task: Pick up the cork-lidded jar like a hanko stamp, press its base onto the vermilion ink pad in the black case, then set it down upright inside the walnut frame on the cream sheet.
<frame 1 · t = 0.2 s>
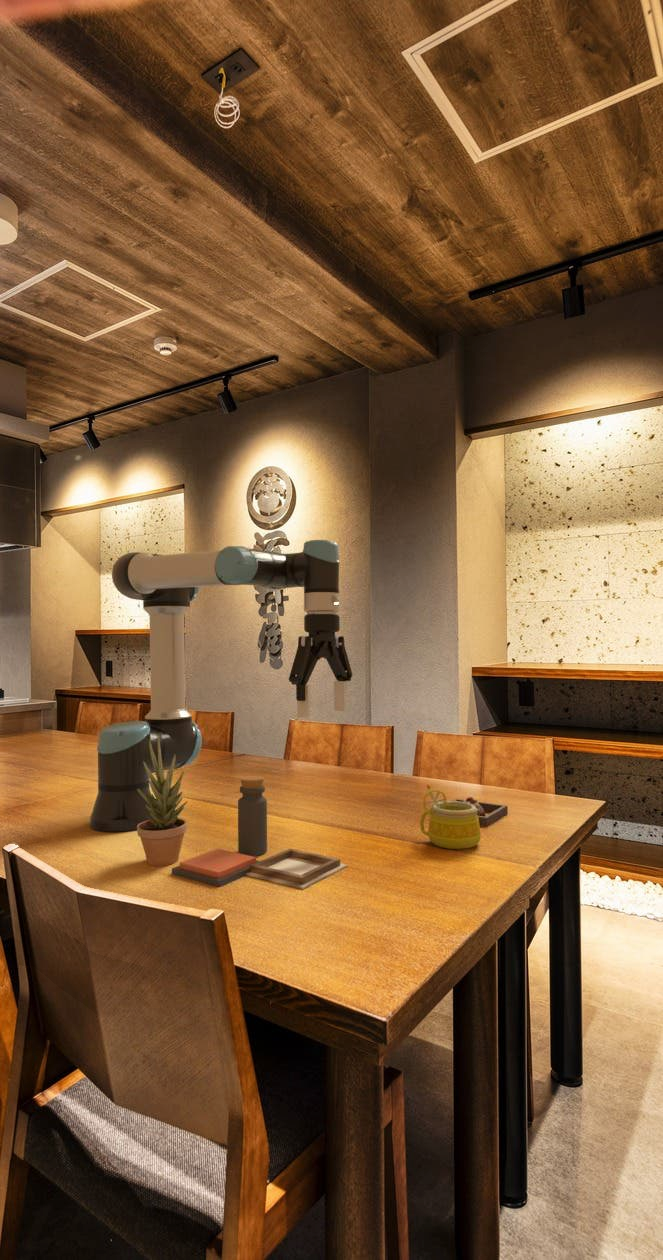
hand: (322, 714, 143), 27 cm above the table, fingers open, 13 cm apart
potted plant: (162, 862, 132), on the table
ink pad: (218, 870, 126), on the table
cork-lidded jar: (252, 853, 137), on the table
pastry: (469, 817, 164), resting in pastry tray
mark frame: (295, 870, 126), on the table
mug: (449, 844, 142), on the table
pastry tray: (470, 816, 164), on the table
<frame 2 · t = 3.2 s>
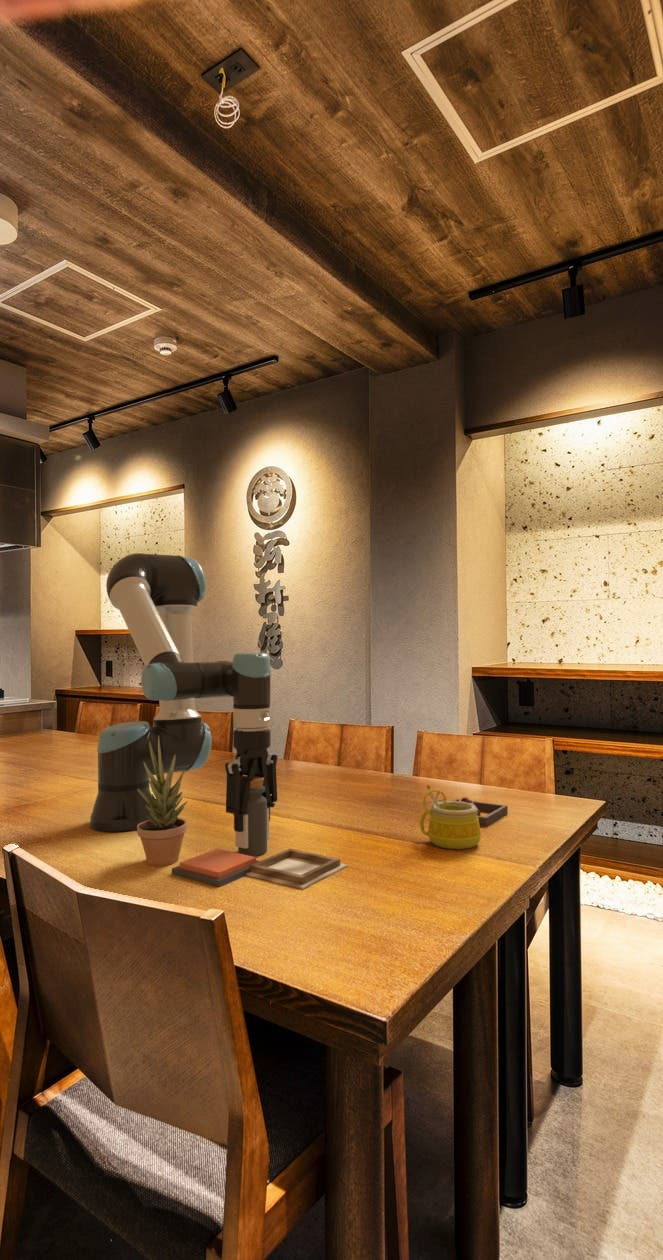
hand: (252, 842, 137), 2 cm above the table, fingers closed on cork-lidded jar, 6 cm apart
cork-lidded jar: (252, 852, 137), on the table, touching gripper
pastry: (464, 818, 164), resting in pastry tray
everything else where it was.
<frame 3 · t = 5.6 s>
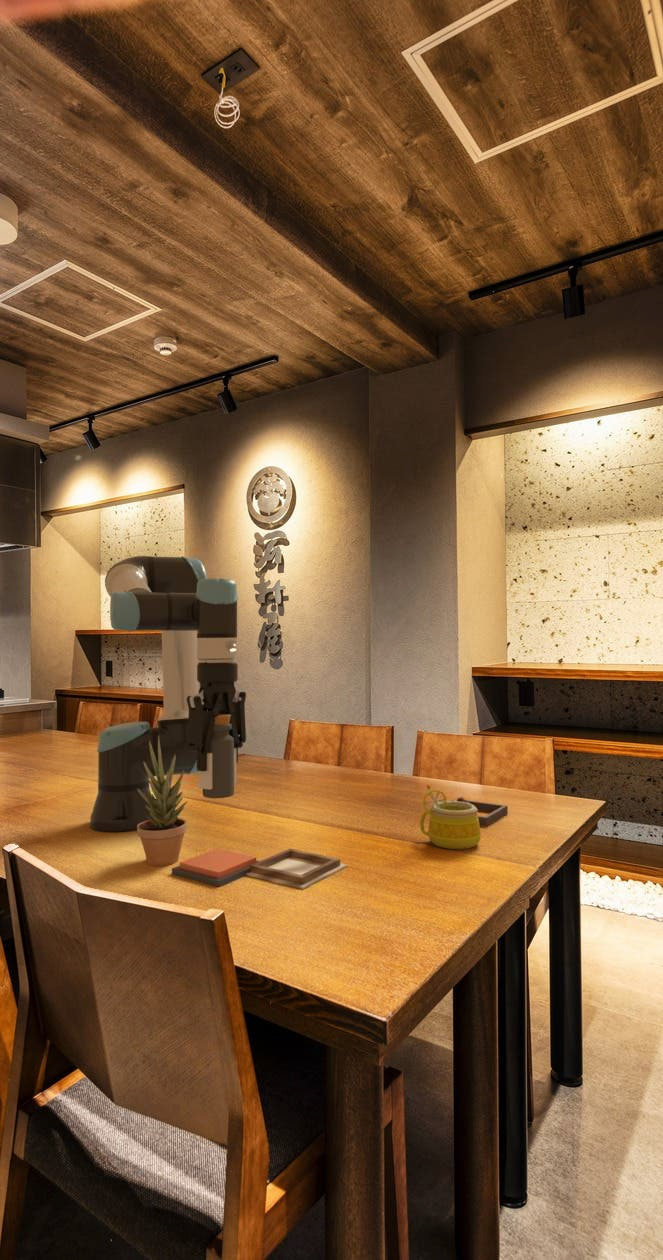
hand: (218, 784, 127), 16 cm above the table, fingers closed on cork-lidded jar, 6 cm apart
cork-lidded jar: (218, 796, 127), point 14 cm above the table, touching gripper
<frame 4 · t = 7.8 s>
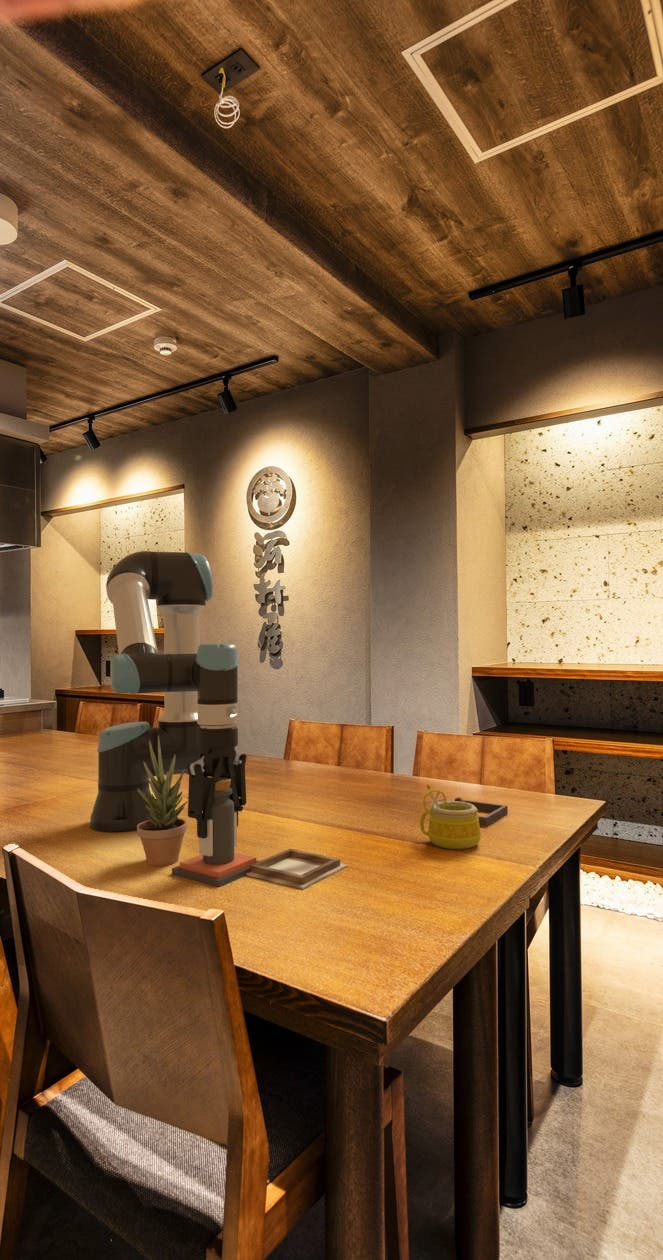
hand: (218, 849, 127), 4 cm above the table, fingers closed on cork-lidded jar, 6 cm apart
cork-lidded jar: (218, 860, 126), point 2 cm above the table, touching gripper, ink pad
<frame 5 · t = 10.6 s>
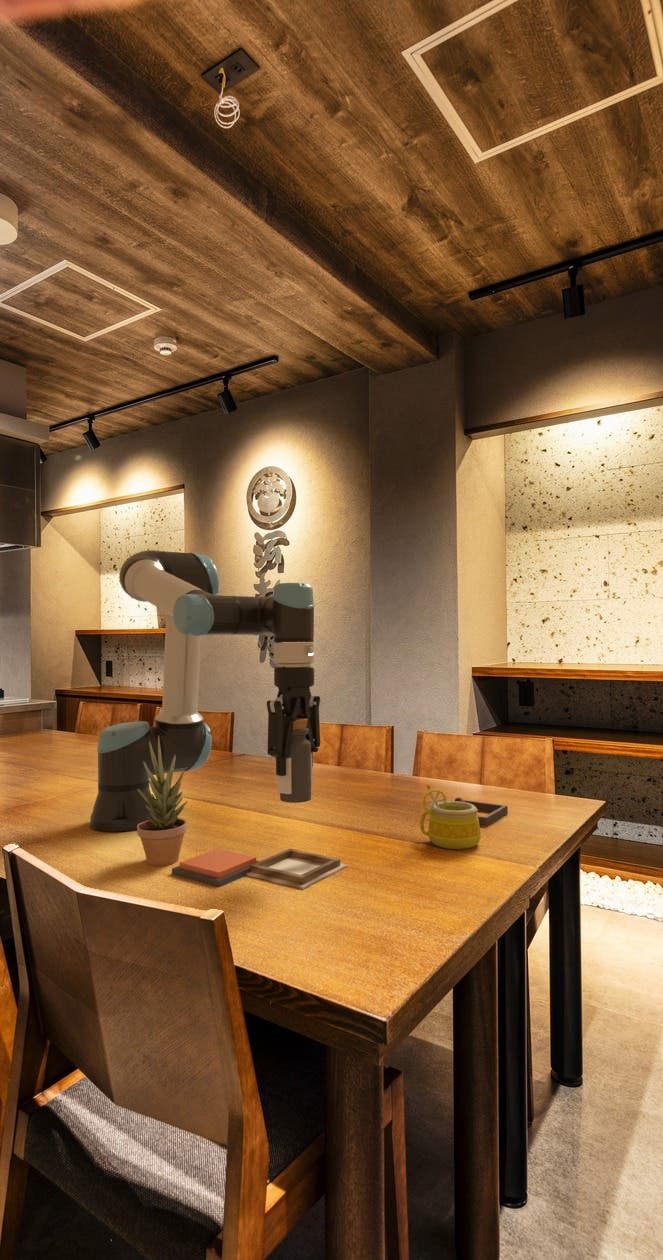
hand: (295, 789, 126), 15 cm above the table, fingers closed on cork-lidded jar, 6 cm apart
cork-lidded jar: (295, 800, 126), point 13 cm above the table, touching gripper
when the fingers open (4 cm above the table, at t = 12.8 s): cork-lidded jar drops 2 cm, resting on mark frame.
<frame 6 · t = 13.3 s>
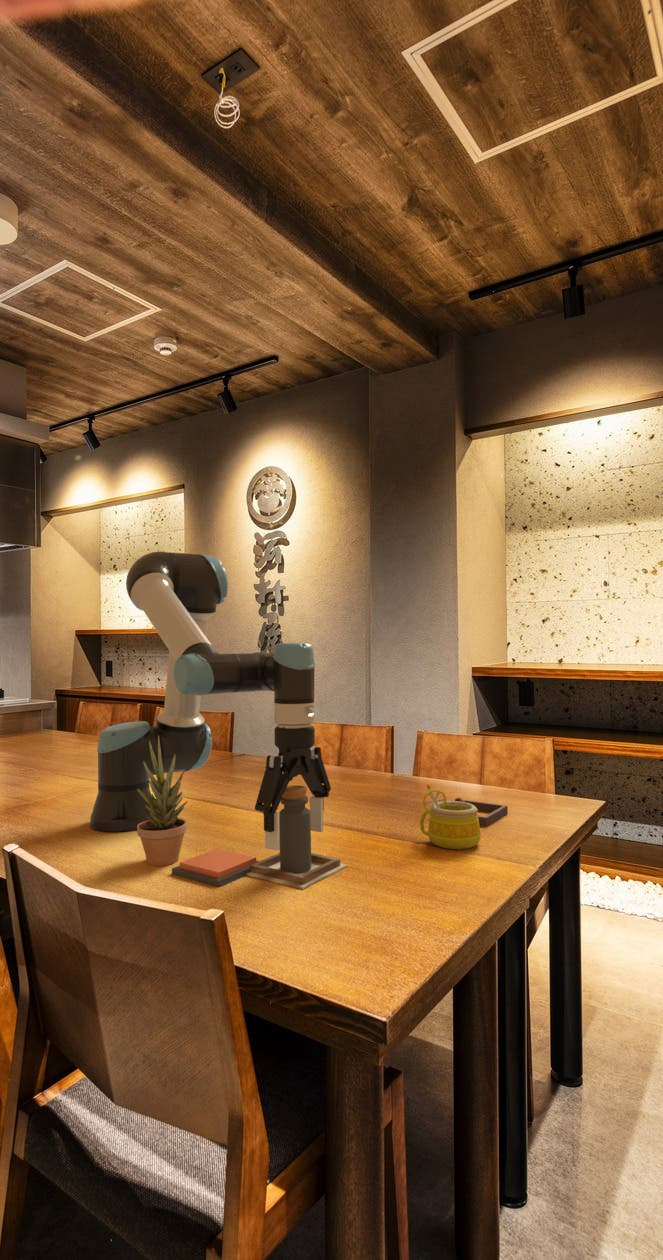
hand: (295, 839, 126), 6 cm above the table, fingers open, 13 cm apart
cork-lidded jar: (295, 869, 126), resting on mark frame
pastry: (458, 818, 164), resting in pastry tray
everything else where it was.
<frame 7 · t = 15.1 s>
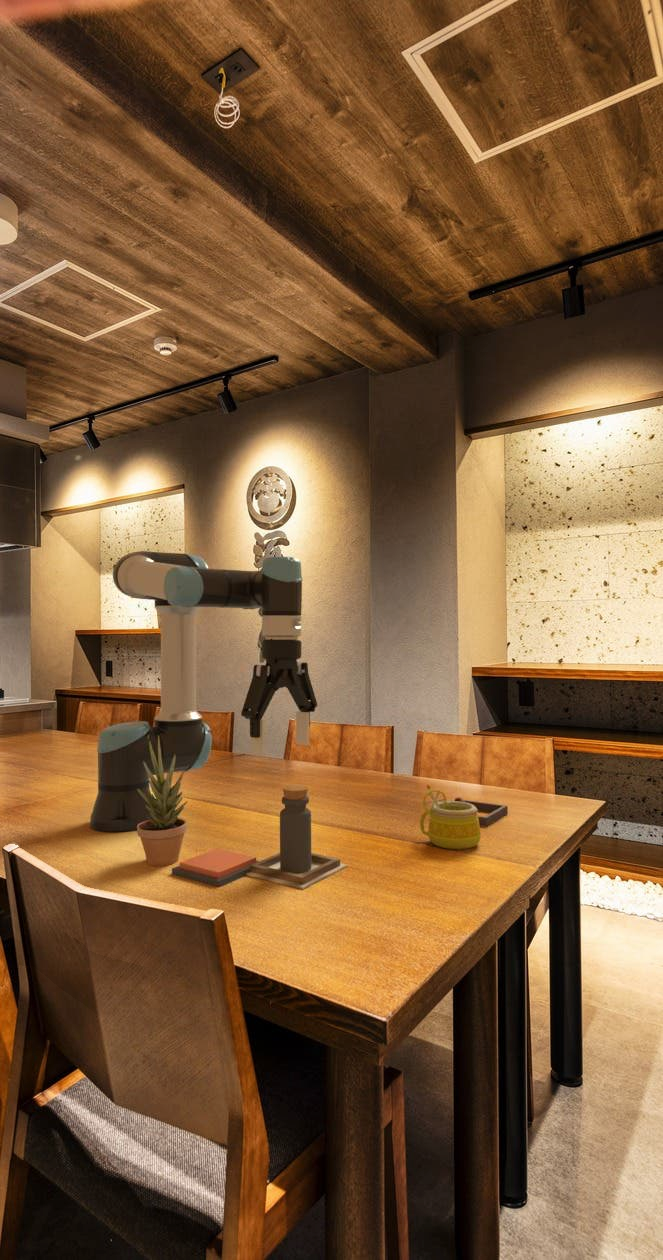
hand: (281, 749, 129), 22 cm above the table, fingers open, 13 cm apart
pastry: (458, 818, 164), resting in pastry tray
everything else where it was.
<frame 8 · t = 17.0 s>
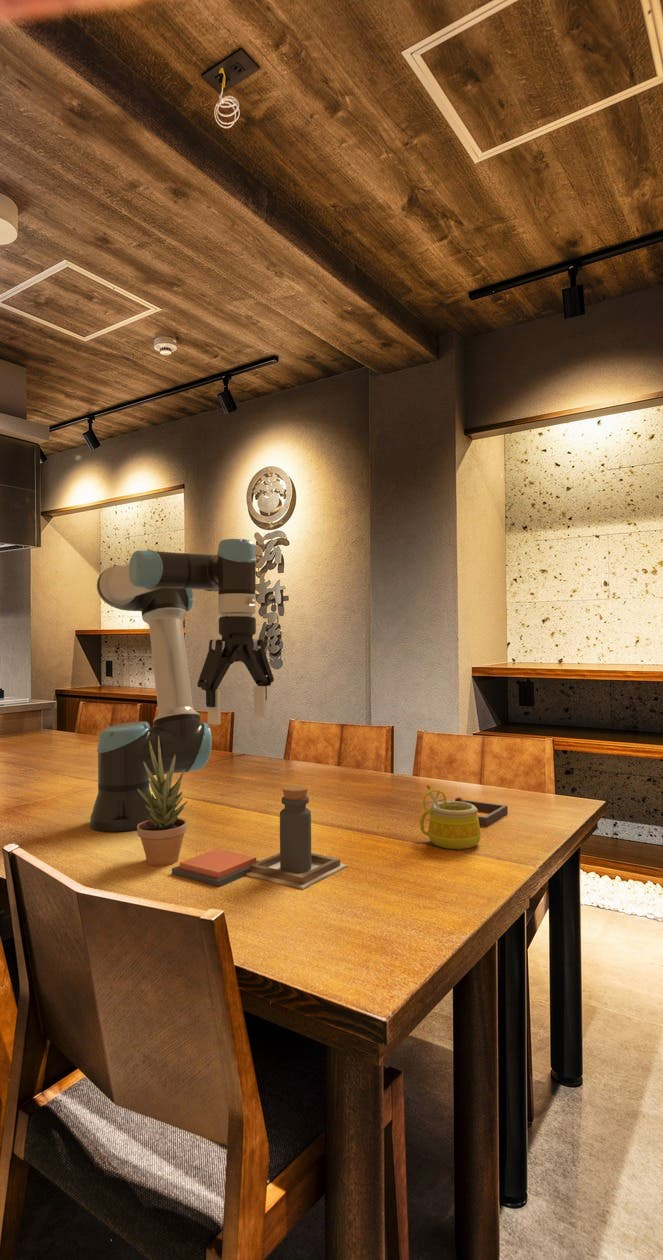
hand: (237, 720, 137), 27 cm above the table, fingers open, 13 cm apart
nothing on the table moved.
at the end: cork-lidded jar inside the target area on the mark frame (0.1 cm from its centre), point 0.1 cm above the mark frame's base; cork-lidded jar tilted 0°; the gripper is holding nothing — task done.
